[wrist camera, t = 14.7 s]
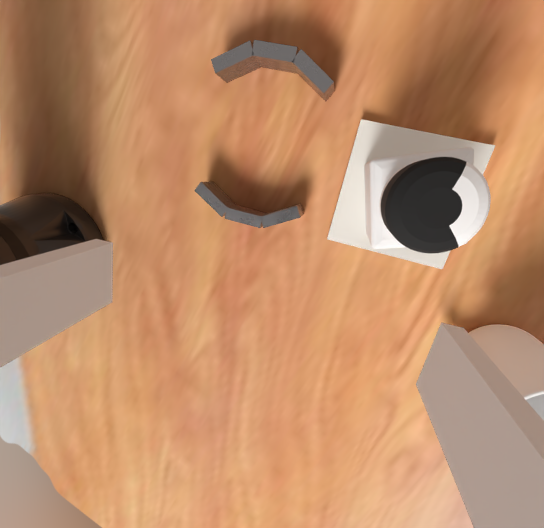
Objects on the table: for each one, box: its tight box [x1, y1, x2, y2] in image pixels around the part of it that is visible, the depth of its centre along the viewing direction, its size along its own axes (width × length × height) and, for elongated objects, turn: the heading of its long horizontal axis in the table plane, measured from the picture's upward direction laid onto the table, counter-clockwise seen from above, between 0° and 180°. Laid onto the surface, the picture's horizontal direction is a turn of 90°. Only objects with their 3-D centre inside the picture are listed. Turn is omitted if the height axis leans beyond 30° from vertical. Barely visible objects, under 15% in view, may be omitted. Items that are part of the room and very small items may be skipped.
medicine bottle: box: [364, 147, 490, 254], centre depth 24 cm, size 7×7×12 cm
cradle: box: [195, 40, 335, 228], centre depth 30 cm, size 12×16×3 cm
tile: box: [327, 119, 495, 269], centre depth 30 cm, size 12×12×1 cm
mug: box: [468, 324, 544, 421], centre depth 28 cm, size 9×12×11 cm
